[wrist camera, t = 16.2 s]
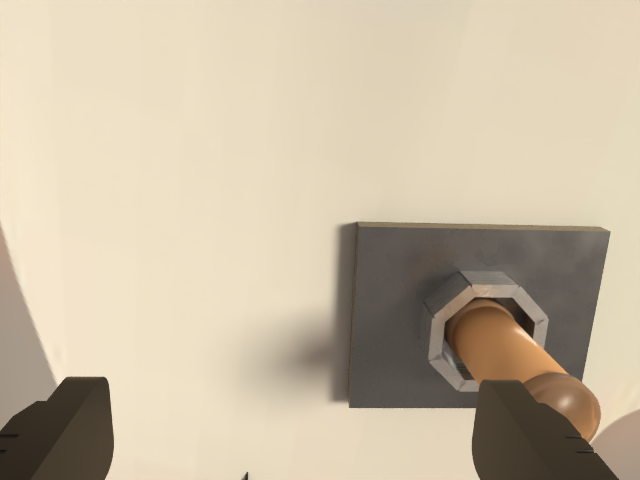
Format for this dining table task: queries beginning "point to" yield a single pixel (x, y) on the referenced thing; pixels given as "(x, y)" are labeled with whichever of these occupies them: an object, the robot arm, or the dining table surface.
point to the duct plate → (431, 263)
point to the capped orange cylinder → (518, 361)
